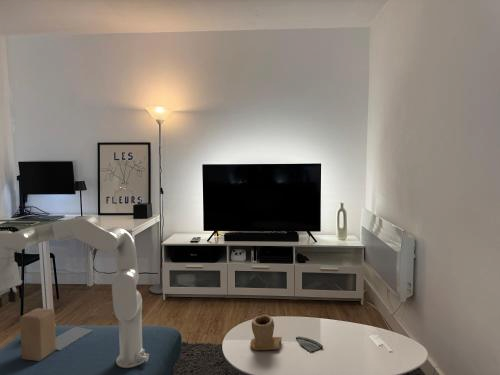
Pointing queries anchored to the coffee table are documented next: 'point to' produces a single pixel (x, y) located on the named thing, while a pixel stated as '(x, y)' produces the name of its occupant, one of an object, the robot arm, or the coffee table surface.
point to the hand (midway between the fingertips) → (5, 303)
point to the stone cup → (264, 334)
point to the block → (38, 334)
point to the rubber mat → (70, 337)
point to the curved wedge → (309, 344)
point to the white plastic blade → (379, 342)
